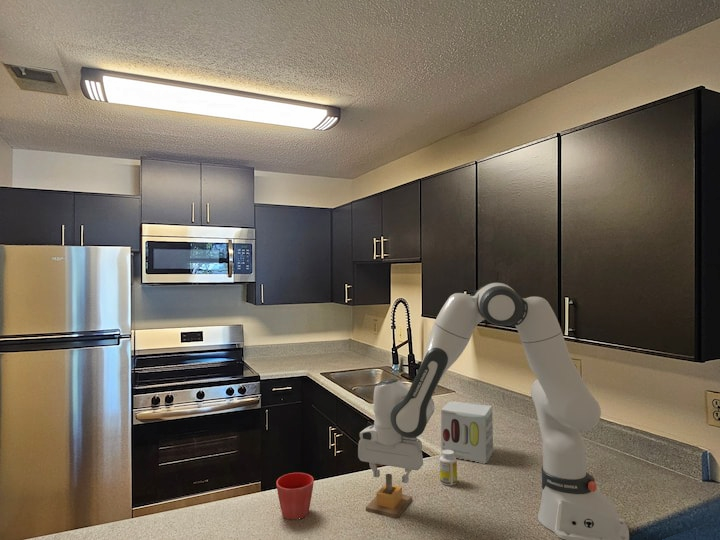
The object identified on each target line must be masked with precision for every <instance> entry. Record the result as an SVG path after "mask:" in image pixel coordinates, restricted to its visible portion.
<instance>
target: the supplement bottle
mask: <svg viewBox="0 0 720 540" xmlns="http://www.w3.org/2000/svg"><path fill="white" fill-rule="evenodd" d="M457 462H458V459H456V457H454V451H452V450H443V451H442V456H441V455H440V457H439V477H440V478H439V481H440V483H441V484H443V485H444V486H449V487H450V486H455V485H456V484H457V483H458V468H457V467H458V465H457Z"/></svg>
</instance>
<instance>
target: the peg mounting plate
mask: <svg viewBox="0 0 720 540" xmlns="http://www.w3.org/2000/svg"><path fill="white" fill-rule="evenodd" d="M392 476H393V475H392V474H391V473H386V474H385V484H386V493H387V494H392V485H393V477H392ZM412 500H413V496H412V495H408V494H403V493H402V499H401V500H400V501H399V503H398V504H397V505H396V506H395V508H394V509H392V508H387V507H383V506H379V505H377V498H376V496H375V497H373V499H372V500H371V501H370V502H369V503H368V504H367V505H366V506H365V511H366V512H370V513H375V514H378V515H381V516H386V517H391V518H395V519H398V518H399V517H400V515H401V514H402V513H403V511H404V510H406V508H407V507H408V505H409V504H410V503H411V501H412Z"/></svg>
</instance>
